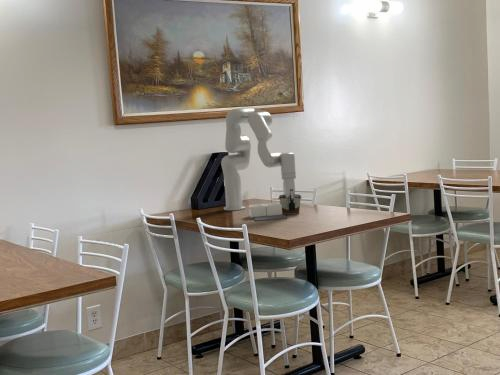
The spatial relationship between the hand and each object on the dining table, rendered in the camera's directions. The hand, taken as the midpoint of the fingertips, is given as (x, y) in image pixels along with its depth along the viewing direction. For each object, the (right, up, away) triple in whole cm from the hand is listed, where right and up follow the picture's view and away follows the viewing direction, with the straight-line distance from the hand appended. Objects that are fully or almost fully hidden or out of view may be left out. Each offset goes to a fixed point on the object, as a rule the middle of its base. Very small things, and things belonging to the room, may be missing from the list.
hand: (291, 209), depth 339 cm
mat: (-12, -4, -10) cm, 16 cm away
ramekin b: (-9, -3, -1) cm, 10 cm away
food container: (0, -2, +1) cm, 2 cm away
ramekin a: (-18, -4, -2) cm, 18 cm away
